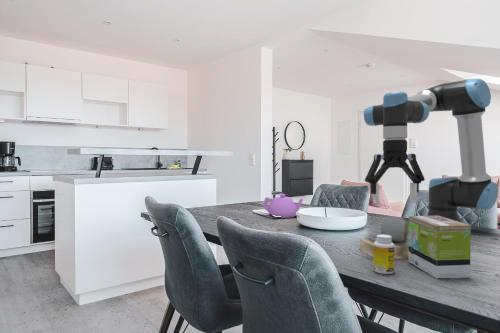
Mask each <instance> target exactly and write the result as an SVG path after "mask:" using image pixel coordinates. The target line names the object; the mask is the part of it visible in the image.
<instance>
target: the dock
mask: <svg viewBox="0 0 500 333" xmlns="http://www.w3.org/2000/svg"><path fill="white" fill-rule="evenodd" d="M376 241H377V237H369V238H359V250H360V252H362V253H364V254H366V255H368V256H369V257H371V258H373V256H374V242H376ZM392 243H393V244H394V260H405V259H408V260H409V236H407V241H406V242H395V241H392Z"/></svg>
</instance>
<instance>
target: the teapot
mask: <svg viewBox="0 0 500 333" xmlns="http://www.w3.org/2000/svg"><path fill="white" fill-rule="evenodd" d="M269 201H270V204H269V205H268V202H269ZM303 201H304V198H300V199H299V200H298V202H297V204H296V203H295V202H294V200H293V199H292V197H289V196H286V194H285V193H280V194H279V196H275V197H274V198H270V197H267V196H266V197H265V198H264V200H263V204H262V208H263V209H265V211H267V213H268V214H269V215H270V214H271V215H275V216H281V218H280V219H289V218H294V217H295V216H296V215H297V214H296V212H297V211H298V212H299V210H300V208H301V206H302V203H303ZM298 212H297V213H298Z"/></svg>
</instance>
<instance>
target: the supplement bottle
mask: <svg viewBox="0 0 500 333" xmlns="http://www.w3.org/2000/svg"><path fill="white" fill-rule="evenodd" d="M376 238H377V241H376V242H374V256H373V257H372V259H373V260H372V263H373V264H372V266H373V271H374V272H375V273H378V274H381V275H391V274H393V273H394V271H395V259H394V244H393V243H392V236H390V235H383V234H382V235H381V234H377V235H376Z"/></svg>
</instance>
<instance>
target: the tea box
mask: <svg viewBox="0 0 500 333" xmlns="http://www.w3.org/2000/svg"><path fill="white" fill-rule="evenodd" d="M471 228H472V225H471V224H468V223H464V222H463V221H462V222H461V221H460V222H458V221H455V220H451V219H448V218H445V217H442V216H427V215H416V216H415V215H414V216H413V215H412V216H411V215H409V216H408V237H409V259H408V263H410V264H412V265H414V266H415V267H417V268H419V269H420V270H421V271H423V272H424V273H426V274H428V275H430V276H431V277H433V278H434V277H435V278H434V279H436V278H450V279H466V278H471V242H472V241H471V240H472V238H471V237H472V236H471V235H472V234H471V233H472V229H471Z"/></svg>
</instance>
